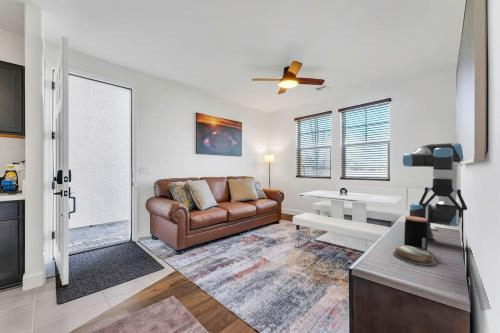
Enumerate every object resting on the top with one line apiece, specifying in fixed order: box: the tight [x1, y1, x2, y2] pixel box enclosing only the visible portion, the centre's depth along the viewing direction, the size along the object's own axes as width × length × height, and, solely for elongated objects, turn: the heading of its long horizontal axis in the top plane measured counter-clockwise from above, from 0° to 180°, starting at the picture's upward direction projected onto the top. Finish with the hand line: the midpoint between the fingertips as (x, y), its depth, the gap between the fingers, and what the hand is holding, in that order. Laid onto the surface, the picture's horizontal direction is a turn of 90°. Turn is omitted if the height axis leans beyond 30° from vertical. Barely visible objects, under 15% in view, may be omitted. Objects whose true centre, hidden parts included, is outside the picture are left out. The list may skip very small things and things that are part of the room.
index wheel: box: [395, 238, 435, 263], centre depth 114 cm, size 16×16×9 cm
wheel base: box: [392, 250, 437, 267], centre depth 114 cm, size 18×18×1 cm
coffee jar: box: [403, 215, 428, 250], centre depth 127 cm, size 11×11×18 cm
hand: (441, 221), depth 111 cm, fingers open, 11 cm apart
